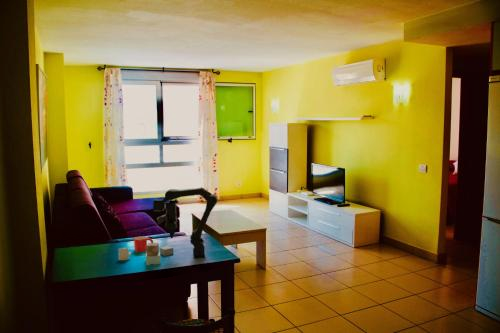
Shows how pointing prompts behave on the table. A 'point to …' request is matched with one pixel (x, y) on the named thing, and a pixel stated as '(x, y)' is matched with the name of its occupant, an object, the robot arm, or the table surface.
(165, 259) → the table surface
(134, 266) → the table surface
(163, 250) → the tan wooden block
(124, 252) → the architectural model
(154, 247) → the walnut cube
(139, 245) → the mug
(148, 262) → the plinth block
